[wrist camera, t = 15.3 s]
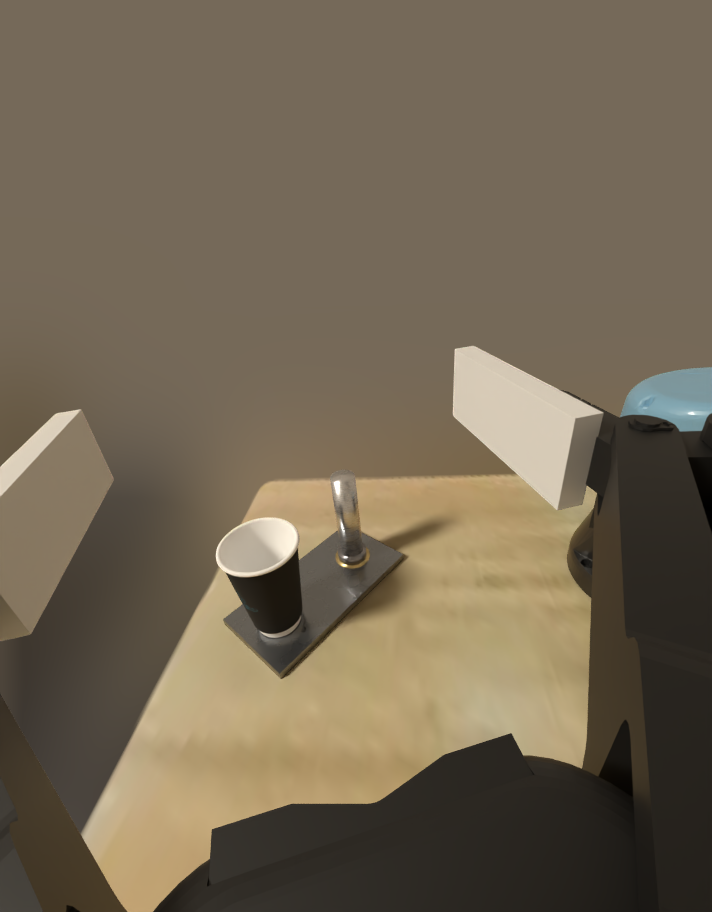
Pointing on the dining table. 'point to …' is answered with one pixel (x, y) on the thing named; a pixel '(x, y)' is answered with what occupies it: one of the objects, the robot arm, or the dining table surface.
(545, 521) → the dining table surface
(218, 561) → the dixie cup
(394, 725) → the dining table surface
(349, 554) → the post
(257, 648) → the plate
